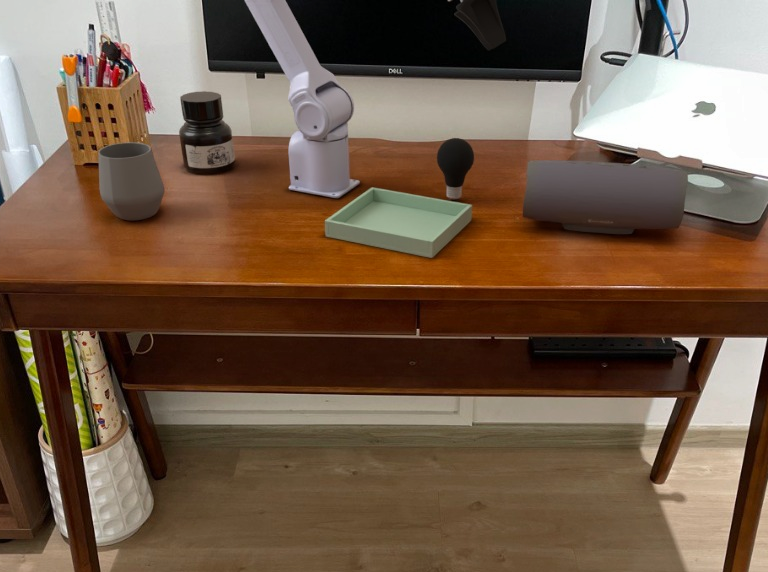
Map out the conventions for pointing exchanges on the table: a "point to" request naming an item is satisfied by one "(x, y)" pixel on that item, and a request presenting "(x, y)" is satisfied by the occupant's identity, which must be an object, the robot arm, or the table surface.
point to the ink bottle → (205, 134)
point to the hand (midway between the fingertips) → (497, 46)
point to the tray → (399, 221)
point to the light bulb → (455, 164)
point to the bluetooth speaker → (605, 196)
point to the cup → (130, 180)
